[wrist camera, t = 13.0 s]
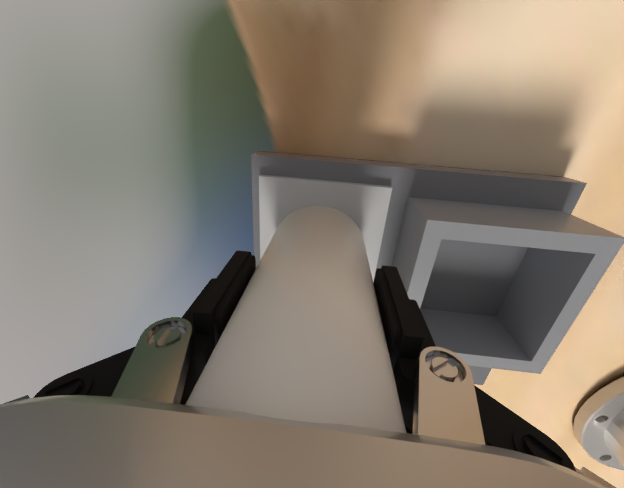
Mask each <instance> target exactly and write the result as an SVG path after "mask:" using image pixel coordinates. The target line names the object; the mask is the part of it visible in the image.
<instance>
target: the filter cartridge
mask: <svg viewBox="0 0 624 488" xmlns="http://www.w3.org/2000/svg"><path fill="white" fill-rule="evenodd" d="M185 405H189V406H198V407H206V408H214V409H222V410H231V411H239V412H245V413H249V414H255V415H260V416H266V417H272V418H279V419H286V420H294V421H303V422H313V423H326V424H341V425H349V426H356V427H364V428H371V429H379V430H386V431H394V432H401V433H406V428H405V424H404V419H403V415H402V410H401V406H400V401H399V397H398V392H397V388H396V383H395V379H394V374H393V370H392V365H391V361H390V356H389V352H388V347H387V343H386V338H385V334H384V329H383V324H382V320H381V315H380V311H379V306H378V302H377V297H376V293H375V288H374V284H373V279H372V275H371V270H370V266H369V261H368V257H367V252H366V248H365V243H364V239H363V236H362V233H361V231H360V229H359V227H358V226H357V225H356V223H355V222H354V221H353V220H352V219H351V218H350V217H349V216H347V215H346V214H344V213H343V212H341V211H339V210H336V209H334V208H330V207H326V206H309V207H304V208H301V209H298V210H296V211H294V212H292V213H291V214H289V215H288V216H287V217H286V218H285V219H284V220H283V221H282V222H281V223H280V224H279V226H278V228H277V229H276V231H275V233H274V235H273V237H272V239H271V241H270V243H269V245H268V247H267V249H266V250H265V252H264V254H263V256H262V258H261V260H260V262H259V264H258V266H257V268H256V270H255V272H254V274H253V275H252V277H251V279H250V281H249V283H248V285H247V287H246V289H245V291H244V293H243V295H242V297H241V299H240V300H239V302H238V304H237V306H236V308H235V310H234V312H233V314H232V316H231V318H230V320H229V322H228V324H227V325H226V327H225V329H224V331H223V333H222V335H221V337H220V339H219V341H218V343H217V345H216V347H215V348H214V350H213V352H212V354H211V356H210V358H209V360H208V362H207V364H206V366H205V368H204V370H203V372H202V373H201V375H200V377H199V379H198V381H197V383H196V385H195V387H194V389H193V391H192V393H191V395H190V397H189V398H188V400H187V402H186V404H185Z"/></svg>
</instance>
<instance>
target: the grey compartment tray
mask: <svg viewBox="0 0 624 488" xmlns="http://www.w3.org/2000/svg"><path fill="white" fill-rule="evenodd" d="M251 165H252V202H253V240H254V256H255V258H256V268H257V266H258V264H259V262H260V260H261V258H262V256H263V254H264V252H265V250H266V249H267V247H268V245H269V243H270V241H271V239H272V237H273V235H274V233H275V231H276V229H277V228H278V226H279V224H280V223H281V222H282V221H283V220H284V219H285V218H286V217H287V216H288V215H289V214H291V213H292V212H294V211H296V210H298V209H301V208H304V207H309V206H326V207H330V208H334V209H336V210H339V211H341V212H343V213H344V214H346V215H347V216H349V217H350V218H351V219H352V220H353V221H354V222H355V223H356V225H357V226H358V227H359V229H360V231H361V233H362V236H363V239H364V243H365V248H366V252H367V257H368V261H369V266H370V270H371V275H372V279H373V283H374V278H375V273H376V269H377V268H380V269H381V267H382V265H384V266H394V267H397V269H398V272H399V274H400V277H401V280H402V282H403V285H404V287H405V290H406V292H407V295H408V297H409V299H412V300H416V302H417V303H418V306H419V308H420V310H421V313H422V315H423V317H424V320H425V322H426V324H427V327H428V329H429V331H430V334H431V336H432V338H433V341H434V343H435V345H436V347H441V348H445V349H448V350H450V351H452V352H454V353H455V354H457V355H459V356H460V357H461V358H462V359H463V360H464V361H465V362H466V363H467V365H468V366H469V367H470V370H471V372H472V376H473V381H474V384H478V385H483V384H484V382H485V380H486V378H487V376H488V374H489V372H490V370H491V368H495V369H504V370H512V371H521V372H529V373H538V374H541V372H542V371H543V369H544V367H545V366H546V364H547V363H548V361H549V360H550V358H551V356H552V355H553V353H554V352H555V350H556V349H557V347H558V345H559V344H560V342H561V341H562V339H563V338H564V336H565V334H566V333H567V331H568V330H569V328H570V327H571V325H572V323H573V322H574V320H575V319H576V317H577V316H578V314H579V312H580V311H581V309H582V308H583V306H584V305H585V303H586V301H587V300H588V298H589V297H590V295H591V294H592V292H593V290H594V289H595V287H596V286H597V284H598V283H599V281H600V279H601V278H602V276H603V275H604V273H605V272H606V270H607V268H608V267H609V265H610V264H611V262H612V261H613V259H614V257H615V256H616V254H617V253H618V251H619V250H620V248H621V246H622V245H623V243H624V237H622V236H619V235H617V234H615V233H612V232H610V231H608V230H605V229H603V228H601V227H598V226H596V225H594V224H591V223H589V222H587V221H584V220H582V219H580V218H577V217H575V216H573V215H571V213H572V211H573V209H574V207H575V205H576V203H577V201H578V199H579V197H580V196H581V194H582V192H583V190H584V188H585V186H586V184H587V183H584V182H580V181H576V180H573V179H569V178H565V177H557V176H545V175H533V174H522V173H510V172H498V171H486V170H475V169H463V168H451V167H439V166H428V165H416V164H404V163H392V162H381V161H369V160H357V159H345V158H334V157H322V156H310V155H298V154H286V153H275V152H263V151H258V152H256V153H254V154H252V155H251Z"/></svg>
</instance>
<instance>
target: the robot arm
mask: <svg viewBox="0 0 624 488" xmlns="http://www.w3.org/2000/svg"><path fill="white" fill-rule="evenodd" d="M255 270H256V258H255V256H252V255H251V252H246V251H236V252H235V254H234V255H233V256H232V258H231V259H230V260H229V262H228V263H227V265H226V266H225V267H224V269H223V270H222V271H221V273H220V274H219V276H218V277H217V278H216V279H211V280H210V281H209V283H208V284H207V285H206V287H205V288H204V289H203V290H202V292H201V293H200V294H199V296H198V297H197V298H196V300H195V301H194V302H193V304H192V305H191V306H190V308H189V309H188V310H187V311H186V313H185V314H184V315H183V317H182V318H179V317H171V318H166V319H163V320H160V321H157V322H155V323H153V324H152V325H150V326H149V327H148V328H147V329H145V331H144V332H143V333H142V335H141V336H140V338H139V340H138V343H137V345H136V347H133V348H131V349H128V350H126V351H123V352H121V353H118V354H116V355H113V356H111V357H109V358H106V359H103V360H101V361H98V362H96V363H94V364H91V365H88V366H86V367H84V368H81V369H79V370H76V371H74V372H71V373H68V374H66V375H64V376H62V377H60V378H58V379H56V380H54V381H52V382H51V383H49V384H48V385H46V386H45V387H44V388H42V389H41V390H40V391H39V392H38V393H37V394H36V395H35V397H34V398H29V396H28V395H26V396H24V397H21V398H18V399H15V400H12V401H9V402H7V403H4V404H0V488H616V487H615V486H613V485H611V484H610V483H608V482H607V481H605V480H604V479H602V478H600V477H599V476H597V475H596V474H594V473H593V472H591V471H589V470H588V469H586V468H585V467H582V468H581V470H579V469H577V468H575V467H574V465H573V463H572V461H571V460H570V458H569V457H568V455H567V454H566V453H565V452H564V451H563V450H562V448H561V447H560V446H559V445H558V444H557V443H556V442H554V441H553V440H552V439H551V438H549V437H548V436H547V435H545V434H544V433H543V432H541V431H540V430H538V429H537V428H535V427H534V426H532V425H531V424H530V423H528V422H527V421H525V420H524V419H522V418H521V417H519V416H518V415H517V414H515V413H514V412H512V411H511V410H509V409H508V408H506V407H505V406H504V405H502V404H501V403H499V402H498V401H496V400H495V399H493V398H492V397H490V396H489V395H488V394H486V393H485V392H483V391H482V390H480V389H479V388H477V387H476V386H475V385H474V381H473V376H472V372H471V370H470V367H469V366H468V365H467V363H466V362H465V361H464V360H463V359H462V358H461V357H460V356H459V355H457V354H455V353H454V352H452V351H450V350H448V349H445V348H441V347H436V345H435V343H434V341H433V338H432V336H431V334H430V331H429V329H428V327H427V324H426V322H425V320H424V317H423V315H422V313H421V310H420V308H419V306H418V303H417V302H416V300H412V299H409V297H408V295H407V292H406V290H405V287H404V285H403V282H402V280H401V277H400V274H399V272H398V269H397V267H394V266H384V265H382V267H381V269H380V268H377V269H376V273H375V278H374V283H373V284H374V288H375V293H376V297H377V302H378V306H379V311H380V315H381V320H382V324H383V329H384V334H385V338H386V343H387V347H388V352H389V356H390V361H391V365H392V370H393V374H394V379H395V383H396V388H397V392H398V397H399V401H400V406H401V410H402V415H403V419H404V424H405V428H406V433H401V432H394V431H386V430H379V429H371V428H364V427H356V426H349V425H341V424H326V423H313V422H303V421H294V420H286V419H279V418H272V417H266V416H260V415H255V414H249V413H245V412H239V411H231V410H222V409H214V408H206V407H198V406H189V405H185V404H186V402H187V400H188V398H189V397H190V395H191V393H192V391H193V389H194V387H195V385H196V383H197V381H198V379H199V377H200V375H201V373H202V372H203V370H204V368H205V366H206V364H207V362H208V360H209V358H210V356H211V354H212V352H213V350H214V348H215V347H216V345H217V343H218V341H219V339H220V337H221V335H222V333H223V331H224V329H225V327H226V325H227V324H228V322H229V320H230V318H231V316H232V314H233V312H234V310H235V308H236V306H237V304H238V302H239V300H240V299H241V297H242V295H243V293H244V291H245V289H246V287H247V285H248V283H249V281H250V279H251V277H252V275H253V274H254V272H255ZM573 429H574V435H575V437H576V439H577V440H578V442H579V443H580V445H581V446H582V447H583V449H584V450H585V451H586V452H587V454H588V455H589V456H590V457H592V458H593V459H594V460H596V461H597V462H600V463H602V464H604V465H607V466H609V467H613V468H616V469H620V470H624V376H623V377H621V378H619V379H616V380H614V381H613V382H611V383H609V384H608V385H606V386H604V387H603V388H601V389H599V390H598V391H597V392H596V393H594V394H593V395H592V396H591V397H590V398H588V399H587V401H586V402H585V403H584V404H583V405H582V406H581V407H580V409H579V411H578V413H577V415H576V416H575V420H574V425H573Z"/></svg>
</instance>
